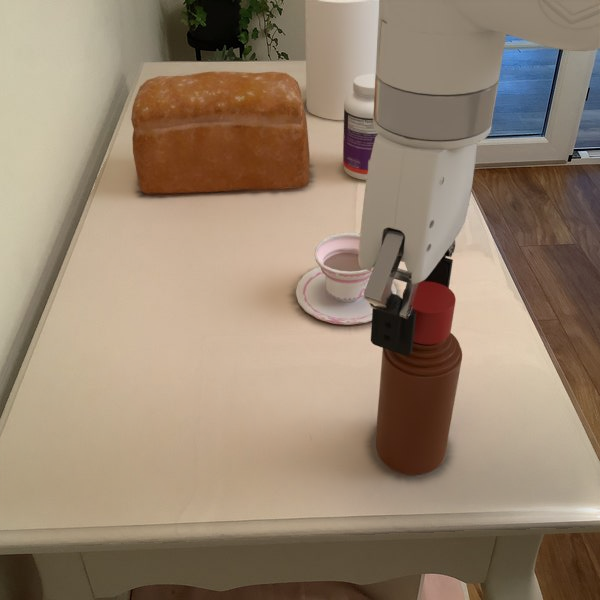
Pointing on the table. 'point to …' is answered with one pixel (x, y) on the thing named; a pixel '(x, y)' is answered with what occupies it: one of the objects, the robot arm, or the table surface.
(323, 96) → the canister
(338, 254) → the teacup
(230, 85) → the bread
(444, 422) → the bottle
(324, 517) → the table surface
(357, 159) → the pill bottle
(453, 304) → the cap
